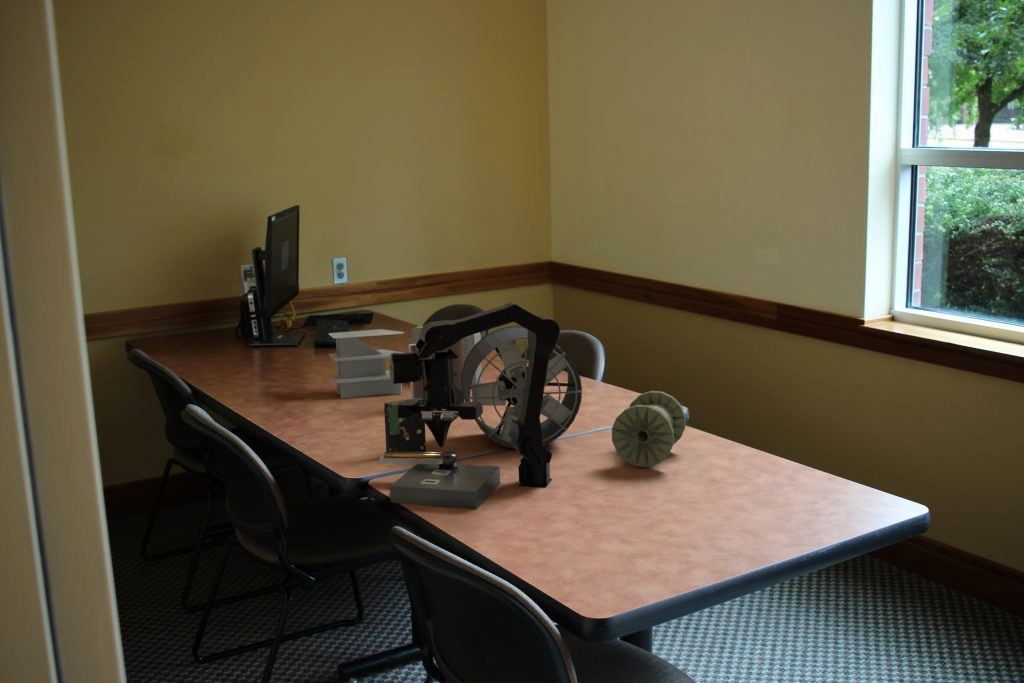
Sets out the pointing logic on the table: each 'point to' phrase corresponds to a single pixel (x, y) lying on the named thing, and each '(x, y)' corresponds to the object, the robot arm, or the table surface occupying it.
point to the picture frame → (455, 375)
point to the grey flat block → (446, 485)
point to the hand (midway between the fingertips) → (441, 446)
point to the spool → (648, 428)
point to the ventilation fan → (520, 386)
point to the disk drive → (404, 430)
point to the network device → (466, 345)
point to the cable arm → (421, 458)
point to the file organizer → (362, 365)
